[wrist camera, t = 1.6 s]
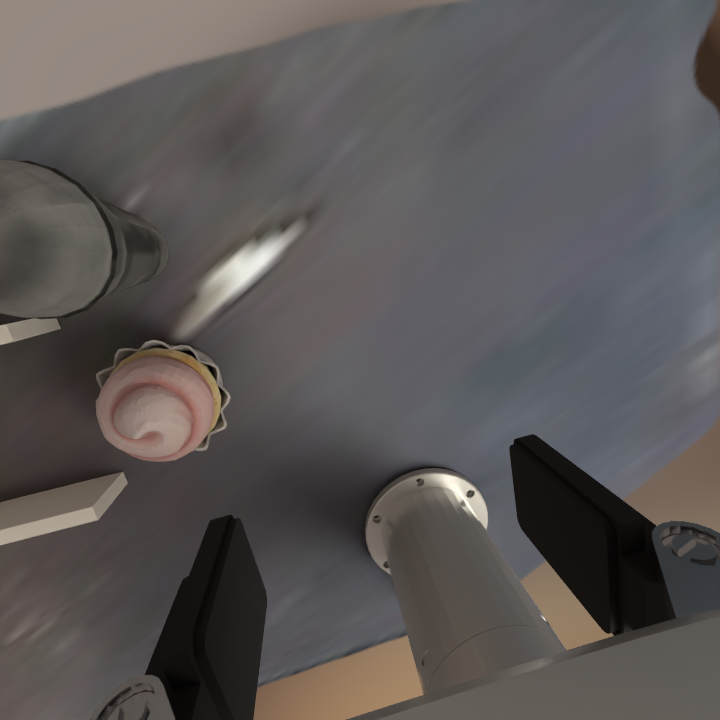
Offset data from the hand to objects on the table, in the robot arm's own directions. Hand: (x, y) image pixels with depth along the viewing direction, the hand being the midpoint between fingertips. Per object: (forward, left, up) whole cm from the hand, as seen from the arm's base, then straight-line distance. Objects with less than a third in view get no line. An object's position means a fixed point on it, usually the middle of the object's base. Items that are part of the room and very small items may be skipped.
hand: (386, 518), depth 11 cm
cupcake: (0, +13, -23) cm, 26 cm away
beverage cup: (+11, +13, -23) cm, 29 cm away
